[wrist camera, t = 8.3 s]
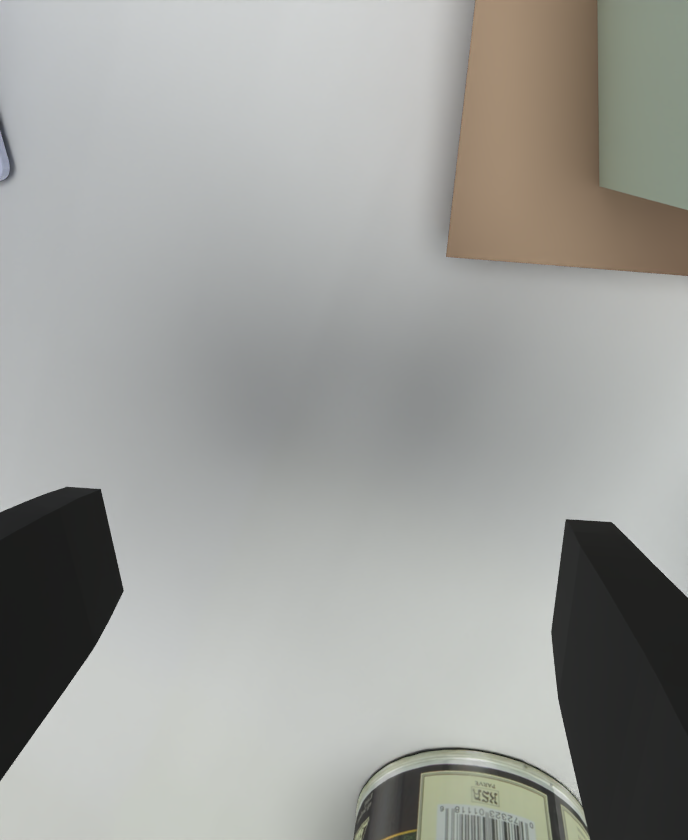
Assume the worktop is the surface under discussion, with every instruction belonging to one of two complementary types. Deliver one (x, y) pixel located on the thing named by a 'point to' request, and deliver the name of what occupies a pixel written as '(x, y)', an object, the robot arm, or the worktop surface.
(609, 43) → the green block
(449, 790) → the coffee can
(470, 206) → the walnut base
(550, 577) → the worktop surface
